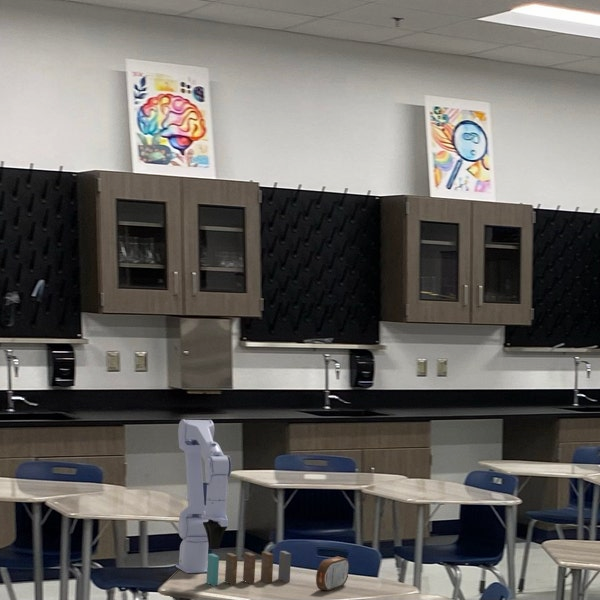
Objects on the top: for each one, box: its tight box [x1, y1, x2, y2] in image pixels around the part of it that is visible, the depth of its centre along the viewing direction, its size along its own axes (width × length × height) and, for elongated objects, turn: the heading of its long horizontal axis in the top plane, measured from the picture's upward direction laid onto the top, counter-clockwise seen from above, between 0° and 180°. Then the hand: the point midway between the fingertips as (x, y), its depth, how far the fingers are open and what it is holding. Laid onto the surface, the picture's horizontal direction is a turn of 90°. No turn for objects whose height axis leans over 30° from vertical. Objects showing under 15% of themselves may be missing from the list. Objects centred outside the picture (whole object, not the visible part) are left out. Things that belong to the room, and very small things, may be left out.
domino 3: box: [260, 551, 274, 584], centre depth 331 cm, size 2×4×8 cm, turn 25°
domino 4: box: [277, 550, 292, 583], centre depth 333 cm, size 2×4×8 cm, turn 25°
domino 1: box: [224, 552, 239, 585], centre depth 326 cm, size 2×4×8 cm, turn 25°
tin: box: [315, 555, 350, 592], centre depth 326 cm, size 15×3×8 cm, turn 149°
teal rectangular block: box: [206, 553, 220, 586], centre depth 323 cm, size 2×4×8 cm, turn 25°
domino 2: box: [242, 551, 257, 585], centre depth 328 cm, size 2×4×8 cm, turn 25°
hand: (213, 548), depth 324 cm, fingers closed
